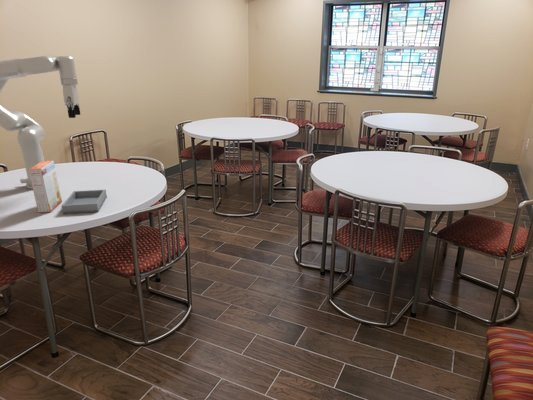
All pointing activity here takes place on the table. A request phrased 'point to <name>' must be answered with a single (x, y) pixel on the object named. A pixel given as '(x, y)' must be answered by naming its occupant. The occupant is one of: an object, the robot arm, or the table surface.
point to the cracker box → (45, 186)
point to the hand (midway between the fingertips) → (74, 116)
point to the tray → (84, 201)
